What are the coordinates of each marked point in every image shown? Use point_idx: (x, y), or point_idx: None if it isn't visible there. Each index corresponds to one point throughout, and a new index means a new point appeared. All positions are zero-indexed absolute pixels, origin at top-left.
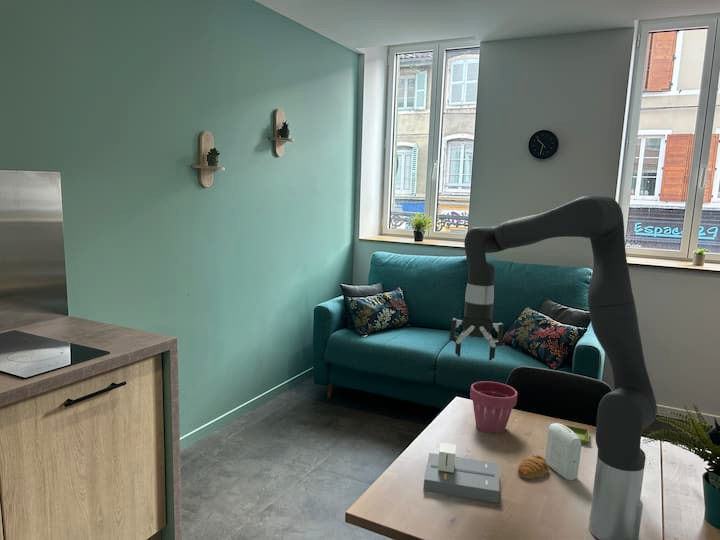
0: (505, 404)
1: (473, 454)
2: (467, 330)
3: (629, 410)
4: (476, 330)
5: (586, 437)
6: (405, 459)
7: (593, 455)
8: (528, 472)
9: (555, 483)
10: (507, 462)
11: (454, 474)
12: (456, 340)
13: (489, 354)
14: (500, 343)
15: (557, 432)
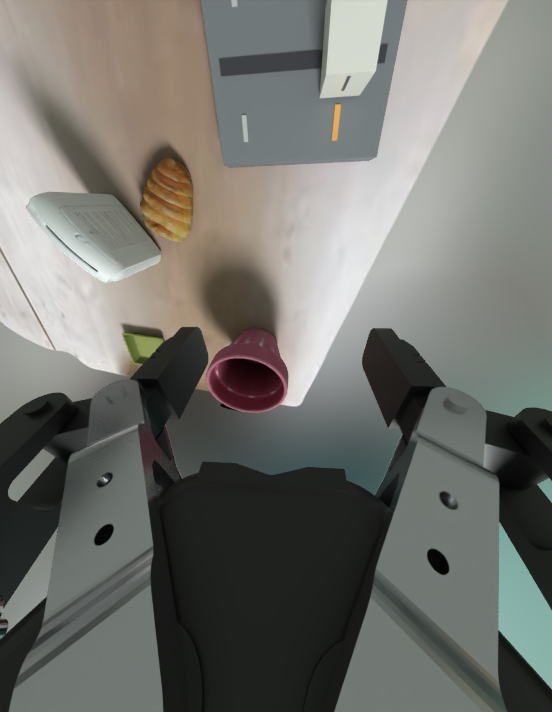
0: (223, 351)
1: (277, 242)
2: (470, 614)
3: None
4: (266, 606)
5: (132, 346)
6: (420, 160)
7: (111, 303)
8: (164, 162)
9: (124, 168)
10: (218, 230)
11: (322, 14)
12: (483, 414)
13: (190, 355)
14: (30, 409)
15: (88, 238)
